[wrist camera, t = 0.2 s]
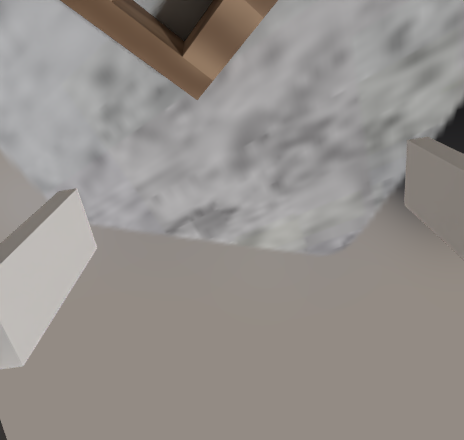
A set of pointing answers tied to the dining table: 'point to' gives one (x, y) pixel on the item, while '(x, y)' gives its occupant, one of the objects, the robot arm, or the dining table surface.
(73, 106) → the dining table surface
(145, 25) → the block
